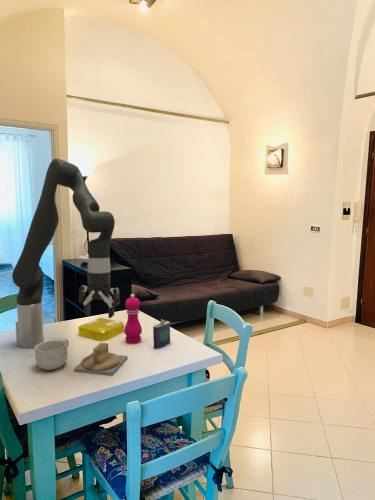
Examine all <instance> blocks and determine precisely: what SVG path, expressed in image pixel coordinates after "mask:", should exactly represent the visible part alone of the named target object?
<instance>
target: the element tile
mask: <svg viewBox="0 0 375 500" xmlns="http://www.w3.org/2000/svg"><path fill="white" fill-rule="evenodd" d="M124 323H125V322H123V321H119V320H118V321H117V320H113V319H110V318H104V317H103V318H102V317H98V318H96V319H94V320H92V321H88V322H86V323H83V324H80V325H79V326H78V336H79V337H82V338H86V339H90V340H95V341H99V342H105V341H108V340H111V339H112V338H115V337H116V336H118V335H121V334H122V333H123V334H124V329H125V324H124Z"/></svg>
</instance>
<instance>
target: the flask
mask: <svg viewBox="0 0 375 500" xmlns="http://www.w3.org/2000/svg"><path fill="white" fill-rule="evenodd" d="M152 329H153V330H152V331H153V332H152V333H153V336H152V337H153V349H154V350H159V349H163V348H164V347H167V346H168V345H169V344H171V321H168V320H165V319H164V320H163V319H160V322H159V323H158V324H157V323H156V324H155V325H153V326H152Z"/></svg>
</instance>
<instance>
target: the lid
mask: <svg viewBox="0 0 375 500" xmlns="http://www.w3.org/2000/svg"><path fill="white" fill-rule="evenodd" d="M92 353H93V354H91V353H90V354H91V355H90V354H89V355H87V356H85V357H84V358H82V360H81V362H82V366H83V367H84V368H85V369H88V370H92V371H102V370H108V369H111V368H114V367H116V366H117V365H118V364H119V363H120V357H119V356H118V355H119V354H116V353H113V352H109V343H108V342H107V343H106V342H99V343H98V344H97V345H96V346H95V347H94V348H92Z"/></svg>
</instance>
